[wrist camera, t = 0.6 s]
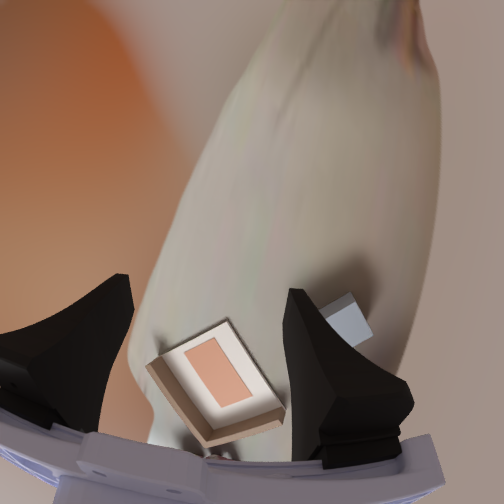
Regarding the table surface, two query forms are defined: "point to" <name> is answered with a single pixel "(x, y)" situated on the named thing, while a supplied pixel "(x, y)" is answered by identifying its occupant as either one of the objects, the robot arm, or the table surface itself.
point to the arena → (217, 388)
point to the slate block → (347, 319)
